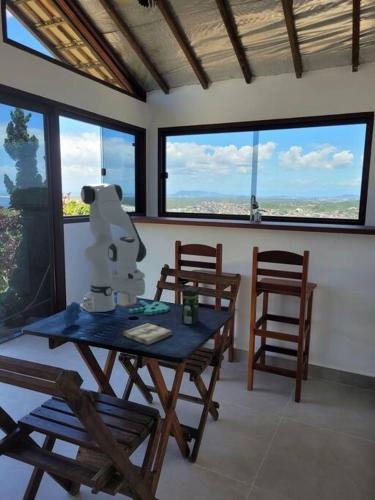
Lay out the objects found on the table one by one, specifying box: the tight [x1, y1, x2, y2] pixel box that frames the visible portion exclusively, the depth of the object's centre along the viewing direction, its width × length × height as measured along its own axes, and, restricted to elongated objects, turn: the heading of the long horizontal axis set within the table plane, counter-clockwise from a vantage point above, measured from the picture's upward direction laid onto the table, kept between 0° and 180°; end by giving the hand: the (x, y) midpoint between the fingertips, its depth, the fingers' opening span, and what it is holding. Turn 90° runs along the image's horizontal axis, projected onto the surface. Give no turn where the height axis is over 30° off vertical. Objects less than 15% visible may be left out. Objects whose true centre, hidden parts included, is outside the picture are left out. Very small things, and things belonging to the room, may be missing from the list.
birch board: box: [122, 322, 173, 345], centre depth 168 cm, size 16×16×2 cm
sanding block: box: [116, 291, 138, 308], centre depth 168 cm, size 4×8×6 cm, turn 142°
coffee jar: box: [181, 285, 200, 325], centre depth 187 cm, size 10×8×19 cm
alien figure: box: [128, 300, 170, 316], centre depth 208 cm, size 20×2×20 cm
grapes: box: [62, 301, 82, 328], centre depth 178 cm, size 12×7×12 cm, turn 153°
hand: (126, 301), depth 168 cm, fingers closed on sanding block, 4 cm apart
